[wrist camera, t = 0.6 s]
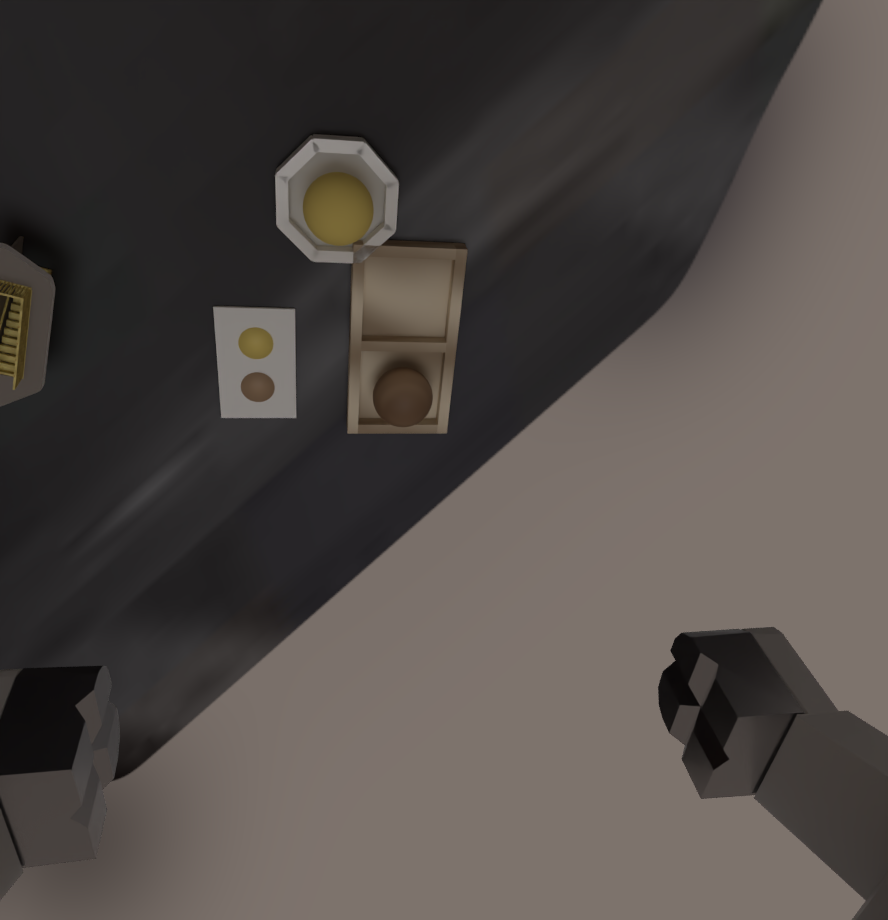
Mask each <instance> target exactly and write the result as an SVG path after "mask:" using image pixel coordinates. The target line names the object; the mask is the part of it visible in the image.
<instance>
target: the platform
mask: <svg viewBox="0 0 888 920" xmlns="http://www.w3.org/2000/svg"><path fill="white" fill-rule="evenodd" d="M22 248H23V237H22V236H20V237H19V238H18V239H17V240H16V241H15V242H14V243H13V244H12V245H11V247H10V246H9V245H7V244H4V243H0V406H3V405H6V404H8V403H11V402H13V401H16V400H19V399H21V398H24V397H26V396H29V395H32V394H34V393H37V392H39V391H40V390H41V389H42V387H43V385H44V383H45V375H46V366H47V358H48V349H49V341H50V332H51V323H52V315H53V306H54V298H55V284H54V281H53V278H52V276H51V274H52V273H51V272H52V270H50V269H46V268H42V267H39V266H37V265H36V264H35V263H33V262H32V261H30V260H29V259H28V258H26V257H25V256H23V255H22ZM23 296H24V297H23ZM20 304H21V305H20ZM17 312H19V313H17ZM16 329H18V330H16ZM14 337H15V338H14ZM13 346H16V347H13ZM14 355H16V356H14ZM11 363H14V364H11Z"/></svg>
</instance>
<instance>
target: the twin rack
mask: <svg viewBox="0 0 888 920" xmlns="http://www.w3.org/2000/svg"><path fill="white" fill-rule="evenodd" d="M363 245H364V244H363V240H358V241H356V242H354V243H353V245H352V247H353V255H354V252H357V253H356V254H358V255H361V254H362V253H364V254H365V253H367V252H368V251H369V250H370V248H371V247H372V248H373V247H374V248H376V250H375V251H374V248H373V249H372V248H371V250H370V251H371V252H368V256H367V254H366V257H367V258H366V259H362V258H363V257H364V256H363V255H361V256H362V257H361V256H360V257H361V258H360V257H359V258H360V259H362V260H364V261H362V263H361V260H360V259H359V260H360V261H359V262H360V263H359V262H358V261H357V260H358V257H356V258H355V257H354V256H355V255H356V254H355V255H354V256H353V260H355V261H357V262H353V263H352V267H351V300H350V333H349V365H348V398H347V432H348V433H447V426H448V417H449V408H450V399H451V391H452V382H453V373H454V364H455V355H456V347H457V338H458V329H459V320H460V312H461V303H462V294H463V285H464V277H465V268H466V259H467V250H468V249H467V248H466V246H465V244H464V243H446V242H424V241H401V240H386V241H385V242H384V243H383V244H382V245H381V246H376V247H375V246H373V245H368V246H370V247H369V250H368V249H367V248H368V246H366V245H365V246H366V248H364V247H365V246H364V247H363ZM362 247H363V248H364V249H363V248H362ZM377 247H378V248H377ZM361 248H362V249H361ZM365 249H367V250H368V251H367V250H366V251H367V252H363V251H364V250H365ZM358 250H359V251H358ZM362 250H363V251H362ZM372 250H373V251H372ZM360 251H362V253H358V252H360ZM370 253H371V255H369V254H370ZM398 367H407V368H412V369H414V370H416V371H418V372H420V373H421V374H422V375H424V377H425V378H426V379H427V380H428V382H429V384H430V386H431V389H432V394H433V401H432V406H431V409H430V411H429V413H428V414H427V416H426V417H425V418H424V419H423V420H422V421H421V422H419V423H417V424H416V425H413V426H410V427H396V426H393V425H390V424H388V423H387V422H385V421H384V420H383V419H382V418H381V417H380V416H379V415H378V413H377V412H376V410H375V407H374V404H373V390H374V387H375V384H376V383H377V381H378V379H379V378H380V377H381V376H382V375H383V374H384V373H386V372H387V371H389V370H391V369H394V368H398Z"/></svg>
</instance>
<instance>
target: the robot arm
mask: <svg viewBox="0 0 888 920" xmlns="http://www.w3.org/2000/svg"><path fill="white" fill-rule="evenodd" d="M671 653H672V654H673V656H674V658H675V660H676V661H675V662H673V663H672V664H671V665H670V666H669V667H667V668H666V669H665V670H664V671H663V673H662V676H661V680H660V683H659V686H658V690H659V692H658V693H659V707H660V711H661V714H662V718H663V720H664V723H665V725H666V727H667V729H668V731H669V733H670V734H671V735H672V736H674V737H675V738H676V739H678V740H679V741H680V742H682V743H683V744H684V745H685V748H684V751H683V755H682V761H683V763H684V765H685V767H686V769H687V771H688V773H689V775H690V777H691V779H692V781H693V783H694V785H695V787H696V790H697V792H698V794H699V796H700V798H701V799H704V798H718V797H733V796H746V795H755V797H754V799H756V800H757V801H758V802H759V803H760V804H761V805H762V806H763V807H764V808H766V809H767V810H768V811H769V812H770V813H771V814H772V815H773V816H774V817H775V818H776V819H777V820H778V821H780V822H781V823H782V824H783V825H784V826H785V827H786V828H787V829H788V830H790V832H792V833H793V834H794V835H795V836H796V837H797V838H798V839H800V840H801V841H802V842H803V843H804V844H805V845H806V846H807V847H808V848H809V849H810V850H811V851H812V852H813V853H815V854H816V855H817V856H818V857H819V858H820V859H821V860H822V861H823V862H825V864H827V865H828V866H829V867H830V868H831V869H832V870H833V871H834V872H835V873H836V874H838V875H839V876H840V877H841V878H842V879H843V880H844V881H845V882H846V883H847V884H848V885H850V886H851V887H852V888H853V889H854V890H855V891H856V892H857V893H858V894H859V895H861V896H862V897H863V898H864V899H865V900H866V901H865V903H864V904H863V905H862V907H861V908H860V909H859V911H858V912H857V914H856V915H855V916H854V918H853V919H852V920H888V736H887V735H885V734H883V733H882V732H881V731H879V730H877V729H875V728H874V727H872V726H871V725H869V724H868V723H866V722H865V721H863V720H862V719H860V718H858V717H857V716H855V715H854V714H852V713H850V712H849V711H838V710H837V708H836V707H835V706H834V704H833V703H832V701H831V700H830V699H829V697H828V696H827V694H826V693H825V692H824V690H823V689H822V687H821V686H820V685H819V683H818V682H817V681H816V679H815V678H814V676H813V675H812V674H811V672H810V671H809V670H808V668H807V667H806V665H805V664H804V663H803V661H802V660H801V658H800V657H799V656H798V654H797V653H796V651H795V650H794V649H793V648H792V646H791V645H790V643H789V642H788V640H787V639H786V638H785V636H784V635H783V634H782V633H781V632H780V631H779V630H777V629H776V628H774V627H766V628H749V629H741V630H740V629H729V630H716V631H700V632H685V633H681V634H680V635H679V636H677V637H676V638H675V640H674V643H673V646H672V648H671ZM111 685H112V683H111V679H110V675H109V671H108V667H105V666H79V667H48V668H23V669H4V670H0V900H1V899H2V898H3V896H4V895H5V894H6V893H7V892H8V890H9V889H10V888H11V887H12V885H13V884H14V883H15V882H16V881H17V879H18V878H19V877H20V876H21V874H22V873H23V869H22V868H26V867H33V866H42V865H49V864H58V863H66V862H74V861H81V860H89V859H96V856H97V852H98V847H99V843H100V838H101V834H102V829H103V825H104V821H105V816H106V812H107V808H106V804H105V799H104V795H103V791H102V790H103V789H104V787H106V786H107V785H108V784H109V783H110V782H111V781H112V780H113V779H114V775H115V770H116V765H117V760H118V750H119V738H120V732H119V718H118V712H117V707H116V706H115V705H113V704H112V703H111V702H109V701H108V698H109V694H110V689H111Z"/></svg>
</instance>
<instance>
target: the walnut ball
mask: <svg viewBox="0 0 888 920" xmlns="http://www.w3.org/2000/svg"><path fill="white" fill-rule="evenodd" d="M432 401H433V394H432V389H431V386H430V384H429V382H428V380H427V379H426V378H425V377H424V375H422V374H421V373H420V372H418V371H416V370H414V369H412V368H407V367H398V368H394V369H391V370H389V371H387V372H386V373H384V374H383V375H382V376H381V377H380V378H379V379H378V381H377V383H376V384H375V387H374V390H373V404H374V407H375V410H376V412H377V413H378V415H379V416H380V417H381V418H382V419H383V420H384V421H385V422H387V423H388V424H390V425H393V426H396V427H410V426H413V425H416V424H417V423H419V422H421V421H422V420H423V419H424V418H425V417H426V416H427V414H428V413H429V411H430V409H431V406H432Z"/></svg>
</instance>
